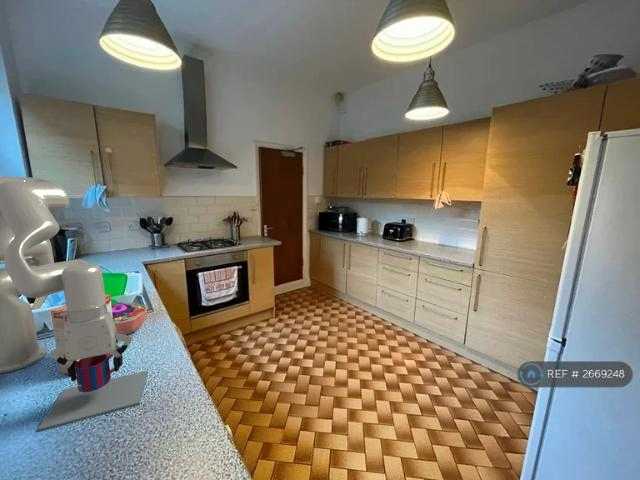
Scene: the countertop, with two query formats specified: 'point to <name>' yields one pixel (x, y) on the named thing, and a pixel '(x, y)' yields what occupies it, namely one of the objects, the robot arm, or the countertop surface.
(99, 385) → the mug
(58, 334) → the cracker box
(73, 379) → the robot arm
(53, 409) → the rubber mat
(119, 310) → the cell model
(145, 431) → the countertop surface
